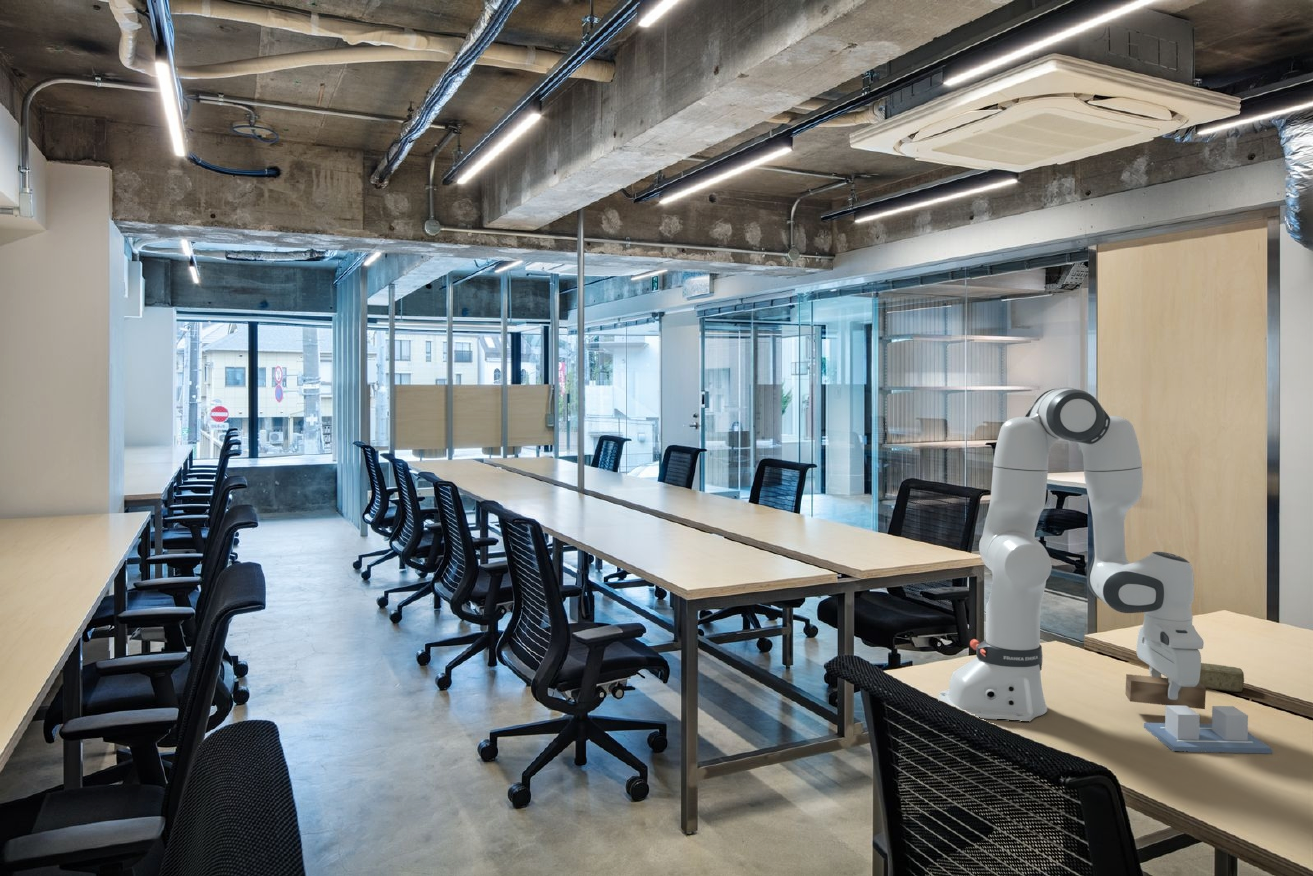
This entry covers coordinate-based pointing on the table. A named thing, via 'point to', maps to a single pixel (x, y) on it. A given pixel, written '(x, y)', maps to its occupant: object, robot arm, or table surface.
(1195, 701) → the walnut beam
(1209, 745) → the bridge base
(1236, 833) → the table surface
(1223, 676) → the stone block
